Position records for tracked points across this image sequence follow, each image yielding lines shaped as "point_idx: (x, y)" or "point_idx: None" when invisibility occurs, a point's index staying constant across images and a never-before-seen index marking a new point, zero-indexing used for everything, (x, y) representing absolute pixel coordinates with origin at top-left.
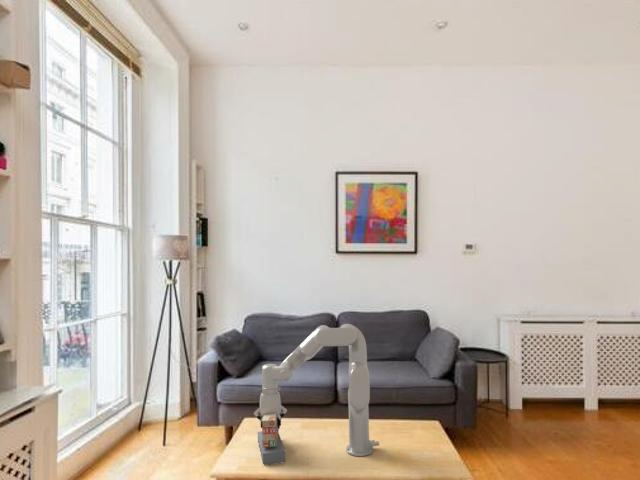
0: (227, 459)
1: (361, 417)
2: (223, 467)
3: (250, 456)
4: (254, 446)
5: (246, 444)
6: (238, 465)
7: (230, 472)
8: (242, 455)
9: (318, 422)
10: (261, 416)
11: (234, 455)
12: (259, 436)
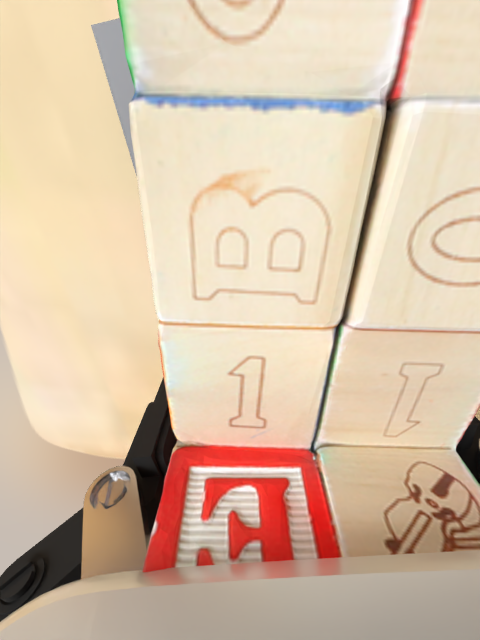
0: (23, 350)
1: None
2: (46, 416)
3: (143, 331)
4: (130, 178)
5: (48, 123)
6: (110, 408)
7: (97, 451)
8: (91, 314)
9: None
10: (103, 555)
11: (40, 308)
12: None
